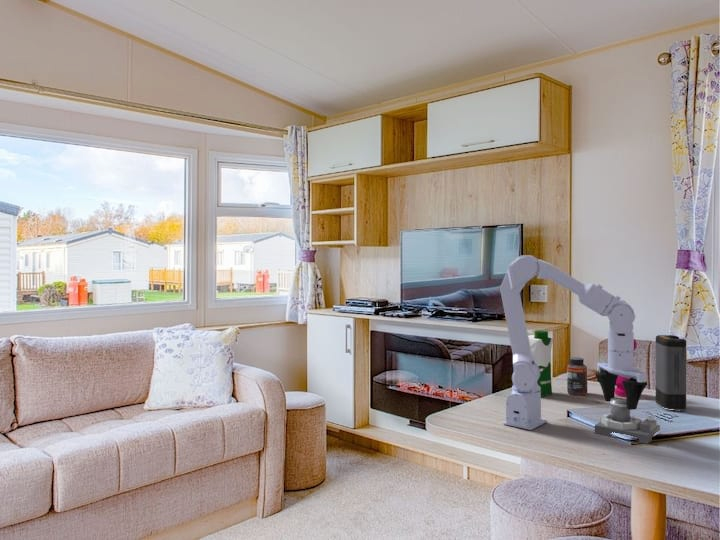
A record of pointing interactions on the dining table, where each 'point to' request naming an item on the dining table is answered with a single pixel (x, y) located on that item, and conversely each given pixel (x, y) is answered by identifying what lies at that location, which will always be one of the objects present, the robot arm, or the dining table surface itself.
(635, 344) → the pepper mill
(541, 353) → the milk carton
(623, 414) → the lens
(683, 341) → the electronic device
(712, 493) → the dining table surface
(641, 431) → the grey base plate
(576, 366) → the supplement bottle
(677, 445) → the dining table surface
